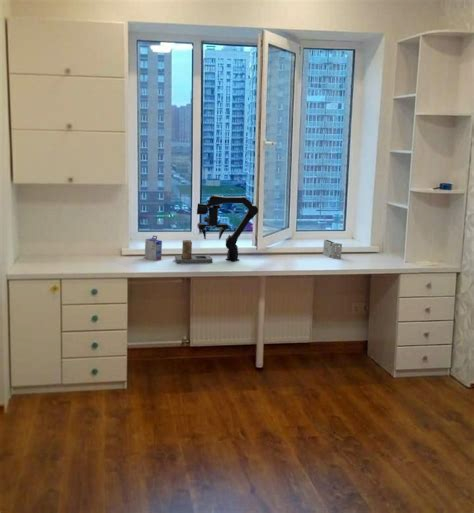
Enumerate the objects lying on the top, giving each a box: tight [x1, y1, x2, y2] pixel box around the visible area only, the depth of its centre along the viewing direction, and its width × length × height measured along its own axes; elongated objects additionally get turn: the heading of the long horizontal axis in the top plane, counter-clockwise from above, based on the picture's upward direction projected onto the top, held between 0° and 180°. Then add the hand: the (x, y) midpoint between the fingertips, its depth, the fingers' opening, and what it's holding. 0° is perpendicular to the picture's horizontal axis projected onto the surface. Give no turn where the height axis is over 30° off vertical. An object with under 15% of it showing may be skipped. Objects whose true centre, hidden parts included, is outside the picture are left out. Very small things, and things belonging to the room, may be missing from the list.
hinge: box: [322, 239, 343, 259], centre depth 430 cm, size 14×5×10 cm, turn 41°
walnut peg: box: [181, 239, 193, 259], centre depth 400 cm, size 5×5×13 cm
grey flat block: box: [174, 254, 213, 264], centre depth 402 cm, size 22×9×2 cm, turn 104°
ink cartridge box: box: [144, 235, 163, 262], centre depth 401 cm, size 10×6×14 cm, turn 53°
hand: (212, 239), depth 406 cm, fingers open, 9 cm apart
